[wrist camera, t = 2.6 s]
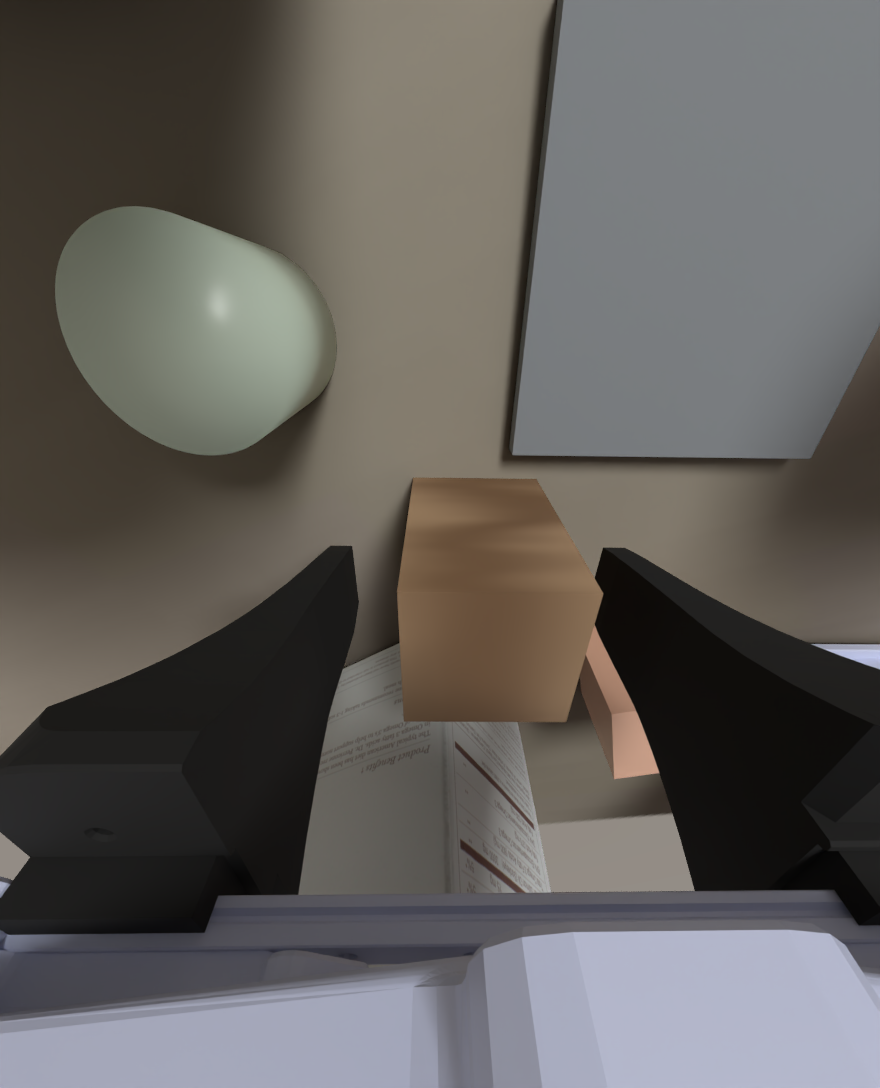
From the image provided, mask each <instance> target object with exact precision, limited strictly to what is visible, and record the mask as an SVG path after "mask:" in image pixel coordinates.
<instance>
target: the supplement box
mask: <svg viewBox="0 0 880 1088" xmlns="http://www.w3.org/2000/svg"><path fill="white" fill-rule="evenodd" d="M548 892H551V888H550V883H549V878H548V873H547V868H546V863H545V858H544V853H543V848H542V843H541V837H540V832H539V828H538V822H537V818H536V812H535V807H534V803H533V798H532V793H531V788H530V782H529V777H528V772H527V767H526V761H525V756H524V751H523V746H522V741H521V736H520V732H519V727H518V723H517V722H404V716H403V697H402V678H401V659H400V643H398V644H396V645H394V646H392V647H390V648H388V649H385V650H383V651H381V652H379V653H377V654H374V655H372V656H370V657H368V658H366V659H364V660H361V661H359V662H357V663H355V664H353V665H350V666H348V667H346V668H344V669H343V670H342V673H341V676H340V679H339V683H338V686H337V689H336V692H335V696H334V699H333V702H332V706H331V710H330V714H329V718H328V723H327V728H326V733H325V738H324V743H323V748H322V753H321V759H320V764H319V769H318V775H317V780H316V786H315V791H314V797H313V803H312V809H311V815H310V821H309V827H308V833H307V839H306V846H305V853H304V860H303V866H302V873H301V880H300V887H299V893H298V895H333V894H440V893H548ZM389 965H397V964H383V965H368V967H369V968H373V967H381V966H389Z"/></svg>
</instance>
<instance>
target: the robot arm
mask: <svg viewBox="0 0 880 1088" xmlns="http://www.w3.org/2000/svg"><path fill="white" fill-rule="evenodd" d="M595 580H596V582H597V584H598V585H599V587H600V589H601V590H602V592H603V597H602V600H601V604H600V607H599V611H598V614H597V618H596V621H595V627H596V629H597V632H598V635H599V637H600V639H601V641H602V643H603V645H604V647H605V649H606V651H607V653H608V655H609V657H610V659H611V661H612V663H613V665H614V667H615V669H616V671H617V673H618V675H619V677H620V679H621V681H622V683H623V685H624V687H625V689H626V691H627V693H628V695H629V697H630V699H631V701H632V703H633V705H634V707H635V710H636V712H637V714H638V716H639V719H640V721H641V724H642V727H643V729H644V732H645V734H646V737H647V740H648V742H649V745H650V748H651V750H652V753H653V756H654V759H655V762H656V765H657V768H658V770H659V773H660V776H661V779H662V782H663V785H664V788H665V791H666V794H667V797H668V800H669V803H670V807H671V810H672V813H673V816H674V819H675V823H676V826H677V829H678V832H679V835H680V839H681V842H682V846H683V850H684V853H685V857H686V860H687V864H688V868H689V871H690V875H691V878H692V882H693V886H694V889H695V891H662V892H661V891H660V892H657V891H656V892H555V893H554V892H548V893H440V894H333V895H298V893H299V887H300V880H301V873H302V866H303V860H304V853H305V846H306V839H307V833H308V827H309V821H310V815H311V809H312V803H313V797H314V791H315V786H316V780H317V775H318V769H319V764H320V759H321V753H322V748H323V743H324V738H325V733H326V728H327V723H328V718H329V714H330V710H331V706H332V702H333V699H334V696H335V692H336V689H337V686H338V683H339V679H340V676H341V673H342V670H343V666H344V663H345V660H346V657H347V653H348V650H349V647H350V644H351V640H352V637H353V633H354V628H355V623H356V617H357V610H358V604H359V600H358V592H357V584H356V575H355V567H354V558H353V550H352V546H330V547H329V548H327V549H326V550H325V551H324V552H323V553H322V554H320V555H319V556H318V557H317V558H316V559H315V560H314V561H313V562H311V563H310V564H309V565H308V566H307V567H306V568H305V569H303V570H302V571H301V572H300V573H299V574H298V575H296V576H295V577H294V578H293V579H292V580H291V581H289V582H288V583H287V584H286V585H284V586H283V587H282V588H280V589H279V590H278V591H276V592H275V593H274V594H273V595H271V596H270V597H269V598H267V599H266V600H265V601H263V602H262V603H261V604H259V605H258V606H257V607H255V608H254V609H252V610H251V611H249V612H248V613H246V614H245V615H243V616H242V617H240V618H239V619H237V620H235V621H234V622H232V623H231V624H229V625H228V626H226V627H224V628H223V629H221V630H219V631H217V632H216V633H214V634H212V635H210V636H208V637H206V638H205V639H203V640H201V641H199V642H197V643H195V644H193V645H192V646H190V647H188V648H186V649H184V650H182V651H180V652H178V653H176V654H174V655H172V656H170V657H168V658H166V659H164V660H162V661H160V662H158V663H156V664H153V665H151V666H149V667H147V668H144V669H142V670H140V671H138V672H136V673H133V674H131V675H129V676H126V677H124V678H122V679H119V680H117V681H114V682H112V683H109V684H107V685H104V686H102V687H99V688H96V689H94V690H91V691H89V692H86V693H84V694H81V695H78V696H76V697H73V698H71V699H68V700H65V701H63V702H60V703H57V704H54V705H52V706H49V707H47V708H46V709H45V710H44V711H43V712H42V713H41V714H40V715H39V717H38V718H37V719H36V720H35V721H34V722H33V723H32V724H31V725H30V726H29V727H28V728H27V729H26V730H25V731H24V732H23V733H22V734H21V735H20V736H19V737H18V738H17V739H16V740H15V741H14V742H13V743H12V744H11V745H10V746H9V747H8V748H7V750H6V751H5V752H4V753H3V754H2V755H1V756H0V832H1V833H2V834H3V835H5V836H6V837H7V838H8V839H9V840H10V841H12V842H13V843H14V844H15V845H16V846H18V847H19V848H20V849H21V850H22V851H24V852H25V853H26V854H27V855H29V856H30V858H29V860H28V861H27V863H26V864H25V865H24V867H23V868H22V869H21V871H20V872H19V873H18V875H17V876H16V877H15V879H14V880H11V879H8V878H4V877H0V1088H880V644H809V643H807V642H804V641H802V640H799V639H797V638H794V637H792V636H790V635H787V634H785V633H783V632H780V631H778V630H776V629H774V628H772V627H769V626H767V625H765V624H763V623H761V622H759V621H756V620H754V619H752V618H750V617H748V616H746V615H744V614H742V613H740V612H738V611H736V610H734V609H732V608H730V607H728V606H726V605H724V604H722V603H721V602H719V601H717V600H715V599H713V598H711V597H709V596H708V595H706V594H704V593H702V592H700V591H699V590H697V589H695V588H693V587H692V586H690V585H688V584H687V583H685V582H683V581H681V580H680V579H678V578H676V577H675V576H673V575H671V574H670V573H668V572H666V571H665V570H663V569H661V568H660V567H658V566H656V565H655V564H653V563H651V562H650V561H648V560H646V559H645V558H643V557H641V556H639V555H638V554H636V553H634V552H632V551H630V550H628V549H626V548H603V550H602V554H601V557H600V561H599V565H598V569H597V572H596V576H595ZM383 964H397V965H389V966H381V967H373V968H369V967H368V965H383Z"/></svg>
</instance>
